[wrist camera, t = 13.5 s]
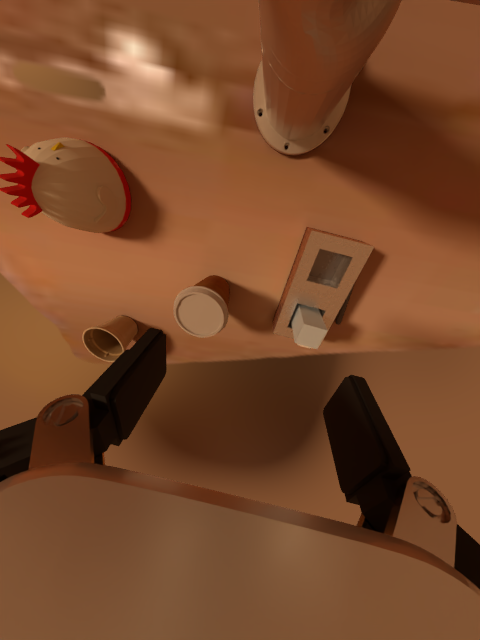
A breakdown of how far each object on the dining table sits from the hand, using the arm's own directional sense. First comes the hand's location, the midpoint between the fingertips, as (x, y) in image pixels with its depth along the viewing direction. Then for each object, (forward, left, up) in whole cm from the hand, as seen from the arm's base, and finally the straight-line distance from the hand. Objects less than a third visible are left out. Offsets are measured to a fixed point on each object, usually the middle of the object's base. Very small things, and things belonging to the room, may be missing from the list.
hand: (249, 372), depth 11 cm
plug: (+10, +11, -31) cm, 35 cm away
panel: (+5, +11, -32) cm, 34 cm away
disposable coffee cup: (+11, -8, -33) cm, 35 cm away
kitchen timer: (-2, -33, -33) cm, 47 cm away
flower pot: (+27, -29, -33) cm, 51 cm away
